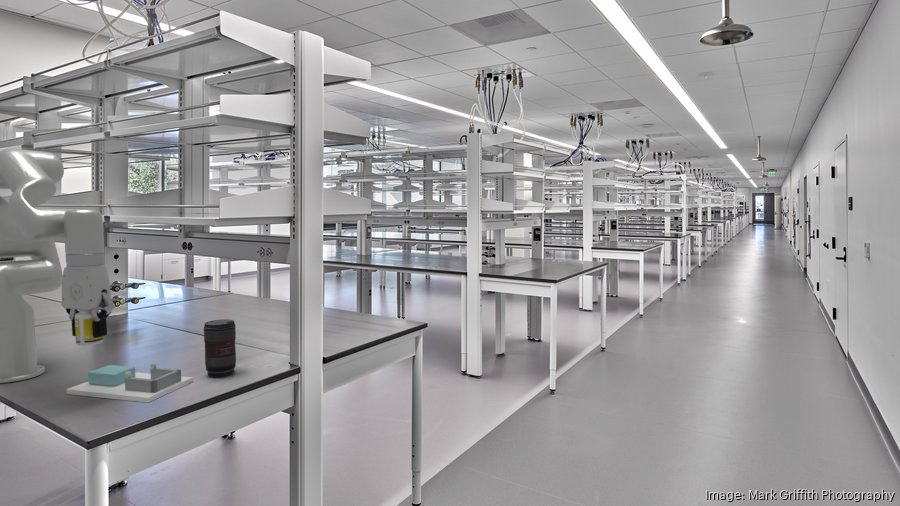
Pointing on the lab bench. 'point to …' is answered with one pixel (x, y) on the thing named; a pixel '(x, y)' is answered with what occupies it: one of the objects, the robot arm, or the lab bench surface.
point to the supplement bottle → (85, 328)
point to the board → (137, 386)
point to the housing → (110, 375)
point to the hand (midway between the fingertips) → (89, 334)
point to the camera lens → (220, 347)
